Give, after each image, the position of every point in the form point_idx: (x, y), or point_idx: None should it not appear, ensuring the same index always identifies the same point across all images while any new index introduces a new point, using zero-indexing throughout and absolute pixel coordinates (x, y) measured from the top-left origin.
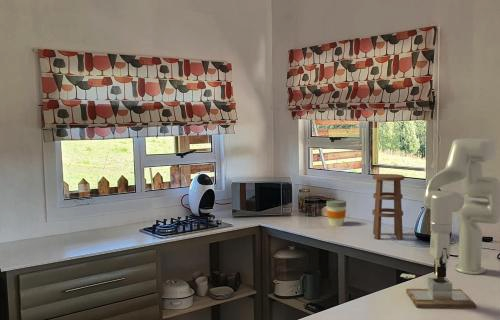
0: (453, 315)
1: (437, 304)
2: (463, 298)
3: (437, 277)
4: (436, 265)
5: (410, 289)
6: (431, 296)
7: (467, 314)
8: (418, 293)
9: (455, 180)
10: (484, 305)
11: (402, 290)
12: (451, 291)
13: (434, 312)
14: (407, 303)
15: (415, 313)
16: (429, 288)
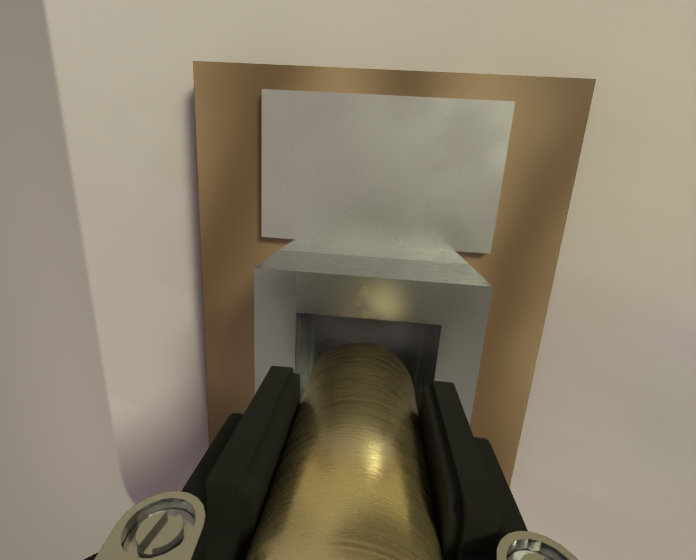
0: (91, 292)
1: (202, 240)
2: None
3: (321, 370)
4: (310, 496)
5: (566, 117)
6: (329, 242)
7: (120, 379)
8: (418, 152)
9: None
10: None
11: (639, 66)
12: None
13: (126, 184)
14: (299, 18)
15: (86, 24)
16: (398, 256)
